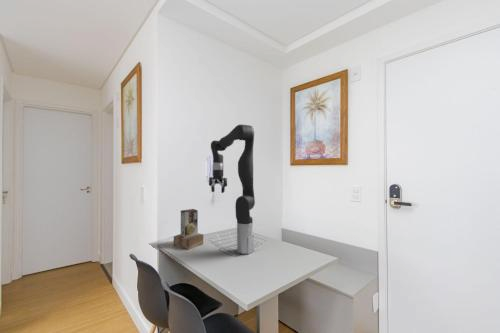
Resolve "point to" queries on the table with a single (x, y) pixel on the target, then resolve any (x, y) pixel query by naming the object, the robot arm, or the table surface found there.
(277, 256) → the table surface
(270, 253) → the table surface
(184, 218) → the coffee box
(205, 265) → the table surface
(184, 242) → the walnut crate
